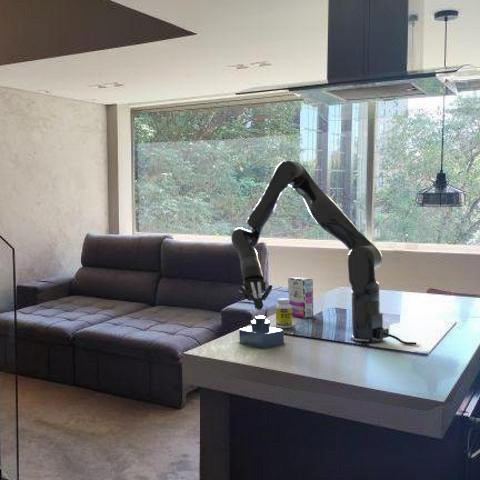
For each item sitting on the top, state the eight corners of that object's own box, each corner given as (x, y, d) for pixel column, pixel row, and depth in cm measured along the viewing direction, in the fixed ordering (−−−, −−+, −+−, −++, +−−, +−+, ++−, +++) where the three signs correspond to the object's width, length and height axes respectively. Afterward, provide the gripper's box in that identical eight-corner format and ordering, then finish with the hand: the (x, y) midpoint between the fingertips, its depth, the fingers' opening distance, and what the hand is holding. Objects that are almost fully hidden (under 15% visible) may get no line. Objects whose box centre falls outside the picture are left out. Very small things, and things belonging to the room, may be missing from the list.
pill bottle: (280, 329, 231) (279, 300, 230) (273, 326, 237) (272, 298, 236) (295, 327, 232) (294, 299, 232) (287, 324, 238) (286, 297, 238)
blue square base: (285, 343, 207) (285, 323, 207) (262, 349, 201) (262, 328, 201) (261, 337, 217) (260, 319, 217) (239, 342, 212) (238, 323, 211)
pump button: (267, 322, 212) (267, 317, 212) (260, 324, 210) (259, 318, 210) (260, 321, 215) (260, 315, 215) (253, 322, 213) (253, 317, 213)
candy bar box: (314, 317, 250) (313, 278, 248) (304, 318, 248) (303, 279, 246) (297, 313, 260) (296, 276, 259) (288, 314, 258) (287, 277, 257)
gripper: (235, 265, 221) (242, 303, 210) (270, 263, 222) (279, 301, 211) (233, 277, 227) (240, 315, 215) (267, 276, 228) (276, 313, 216)
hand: (259, 308), depth 213 cm, fingers closed
